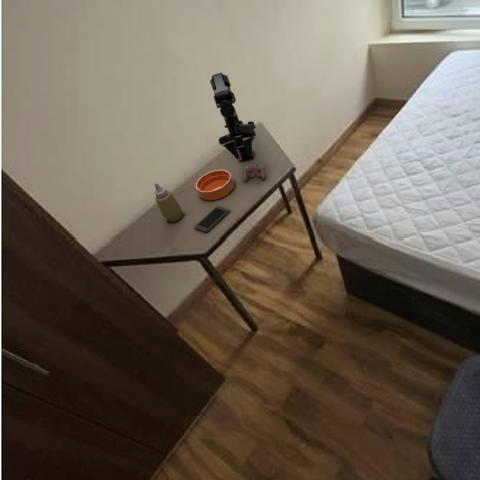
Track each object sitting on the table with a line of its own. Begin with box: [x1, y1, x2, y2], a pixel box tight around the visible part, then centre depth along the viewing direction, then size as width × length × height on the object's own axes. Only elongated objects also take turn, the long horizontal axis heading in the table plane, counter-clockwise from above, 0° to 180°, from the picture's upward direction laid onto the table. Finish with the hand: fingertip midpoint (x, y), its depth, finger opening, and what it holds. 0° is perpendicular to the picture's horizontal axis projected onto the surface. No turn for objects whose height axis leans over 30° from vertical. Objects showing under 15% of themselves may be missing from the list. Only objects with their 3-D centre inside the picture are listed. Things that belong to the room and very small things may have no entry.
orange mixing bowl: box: [195, 169, 235, 201], centre depth 177 cm, size 16×16×5 cm
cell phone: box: [194, 206, 230, 233], centre depth 163 cm, size 7×14×1 cm, turn 146°
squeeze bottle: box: [154, 182, 183, 223], centre depth 163 cm, size 8×8×18 cm
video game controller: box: [243, 163, 266, 182], centre depth 178 cm, size 10×5×7 cm, turn 84°
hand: (244, 157), depth 169 cm, fingers open, 9 cm apart
